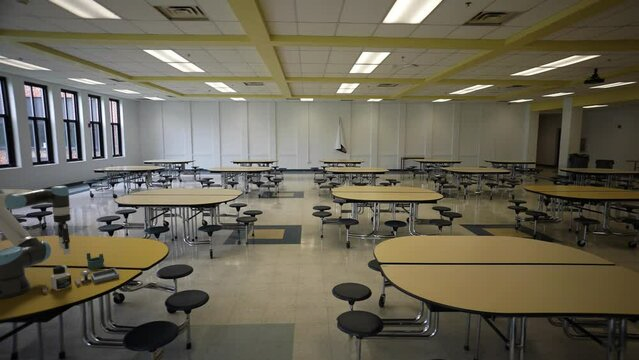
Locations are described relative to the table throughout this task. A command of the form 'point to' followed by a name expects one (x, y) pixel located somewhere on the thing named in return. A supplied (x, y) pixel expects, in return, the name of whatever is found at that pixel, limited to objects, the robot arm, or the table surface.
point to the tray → (104, 275)
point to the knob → (85, 276)
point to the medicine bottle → (60, 278)
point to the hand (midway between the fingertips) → (64, 251)
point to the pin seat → (75, 281)
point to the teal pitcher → (95, 261)
